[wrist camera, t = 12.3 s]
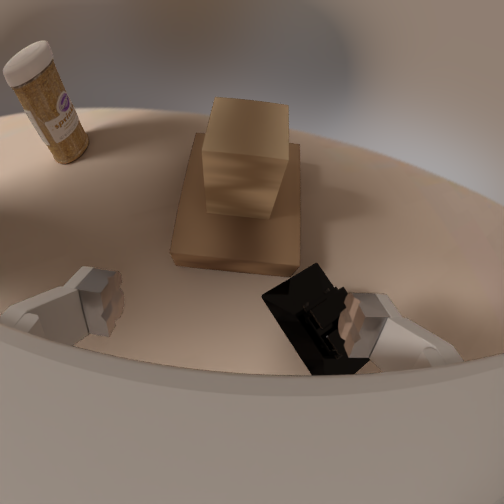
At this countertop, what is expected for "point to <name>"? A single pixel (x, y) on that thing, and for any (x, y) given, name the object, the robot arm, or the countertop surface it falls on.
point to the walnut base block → (238, 226)
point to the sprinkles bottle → (46, 101)
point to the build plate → (313, 321)
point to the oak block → (245, 156)
